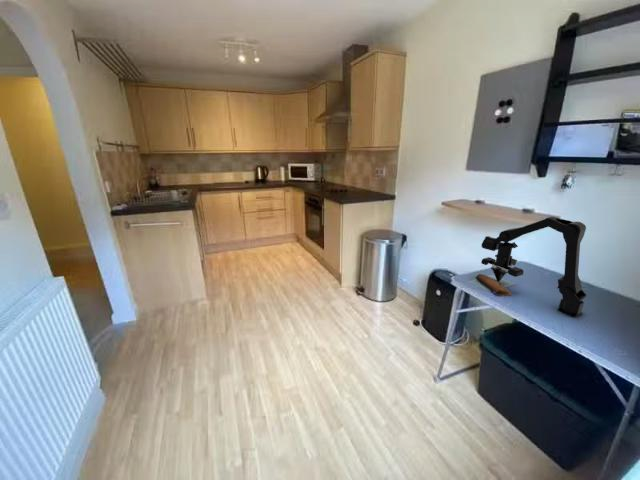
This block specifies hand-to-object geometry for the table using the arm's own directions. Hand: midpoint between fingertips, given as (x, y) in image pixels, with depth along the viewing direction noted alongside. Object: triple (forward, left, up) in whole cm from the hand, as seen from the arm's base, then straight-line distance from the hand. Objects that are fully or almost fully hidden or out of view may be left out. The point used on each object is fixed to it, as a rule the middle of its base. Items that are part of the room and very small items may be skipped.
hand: (498, 281), depth 143 cm
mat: (+3, 0, -2) cm, 4 cm away
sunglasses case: (0, +4, -3) cm, 5 cm away
